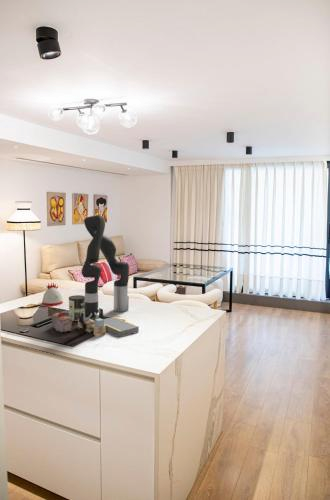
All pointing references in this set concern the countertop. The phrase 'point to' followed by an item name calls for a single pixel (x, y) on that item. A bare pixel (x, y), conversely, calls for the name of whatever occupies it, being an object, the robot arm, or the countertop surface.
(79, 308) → the coffee can
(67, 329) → the food item
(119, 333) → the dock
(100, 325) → the crate
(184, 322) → the countertop surface
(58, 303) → the kitchen timer
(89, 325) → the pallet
